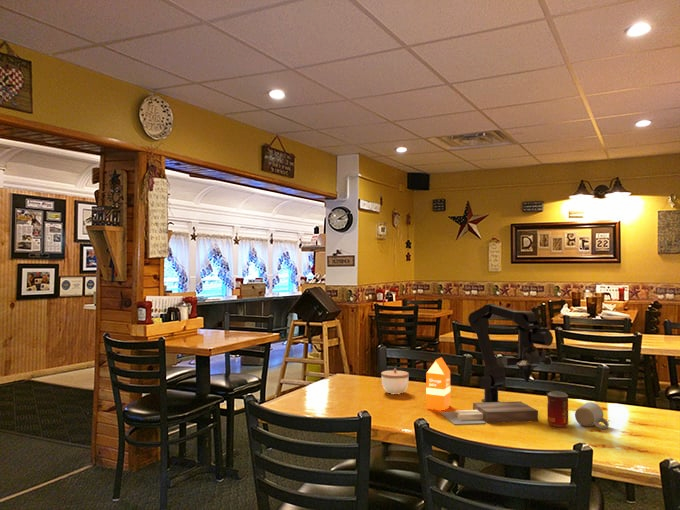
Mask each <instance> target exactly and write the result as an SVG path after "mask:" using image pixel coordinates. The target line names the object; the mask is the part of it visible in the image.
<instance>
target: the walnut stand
mask: <svg viewBox="0 0 680 510" xmlns="http://www.w3.org/2000/svg"><path fill="white" fill-rule="evenodd" d="M472 410H478V411H480V412H481V413H482V414H483V419H481V420H482V421H484V422H485V423H486V424H499V423H503V422H504V423H526V422H527V423H528V421H533V422H539V410H538V409H536V408H535V407H532V406H530V405H528V404H526V403H525V402H523V401H522V400H521V401H500V402H483V401H482V402H473V403H472Z"/></svg>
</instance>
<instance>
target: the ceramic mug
mask: <svg viewBox="0 0 680 510" xmlns="http://www.w3.org/2000/svg"><path fill="white" fill-rule="evenodd" d="M574 417H575V420H576V422H577V423H578V424H579V425H580V426H582V427H591V426H592V427H593V426H595V427H597V428H598V429H600V430H601V429H602V430H607V429H608V427H609V425H610V424H609V422H608V421H607V420H606V418H604V411H603V409H602V408H601V406H600V405H599V404H597V403H596V402H592V401H590V402H588V401H587V402H586V403H584V404H582V405H581V406H579V407H578V408H577V409H576V410H575V413H574ZM600 422H601V423H602V424H601V423H600ZM603 424H604V425H603Z"/></svg>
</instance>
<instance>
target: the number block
mask: <svg viewBox="0 0 680 510" xmlns="http://www.w3.org/2000/svg"><path fill="white" fill-rule="evenodd" d="M454 412H455V416H456V417H457V418H458V419H459V420H476V419H481V420H482V419H483V414H482V413H481V412H480V411H478V410H473V409H462V410H461V409H459V410H458V409H457V410H454Z"/></svg>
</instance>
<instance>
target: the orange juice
mask: <svg viewBox="0 0 680 510" xmlns="http://www.w3.org/2000/svg"><path fill="white" fill-rule="evenodd" d="M425 374H426V375H425V376H426V377H425V378H426V380H425V381H426V382H425V383H426V384H425V385H426V386H425V387H426V388H425V390H426V391H425V394H426V395H425V396H426V399H425V400H426V403H425V406H426V407H425V408H426V409H427V410H433V409H436V410H435V411H441V410H445V409H446V410H447V409H449V408H450V407H451V370H450V369H449V367H448V365H447V364H446V361H444V358H443V357H439V358H437V359H435V361H434V362H433V363H432V365H431V366H430V367H429V369H428V371H426V373H425ZM449 406H450V407H449ZM446 410H445V411H446Z"/></svg>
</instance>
